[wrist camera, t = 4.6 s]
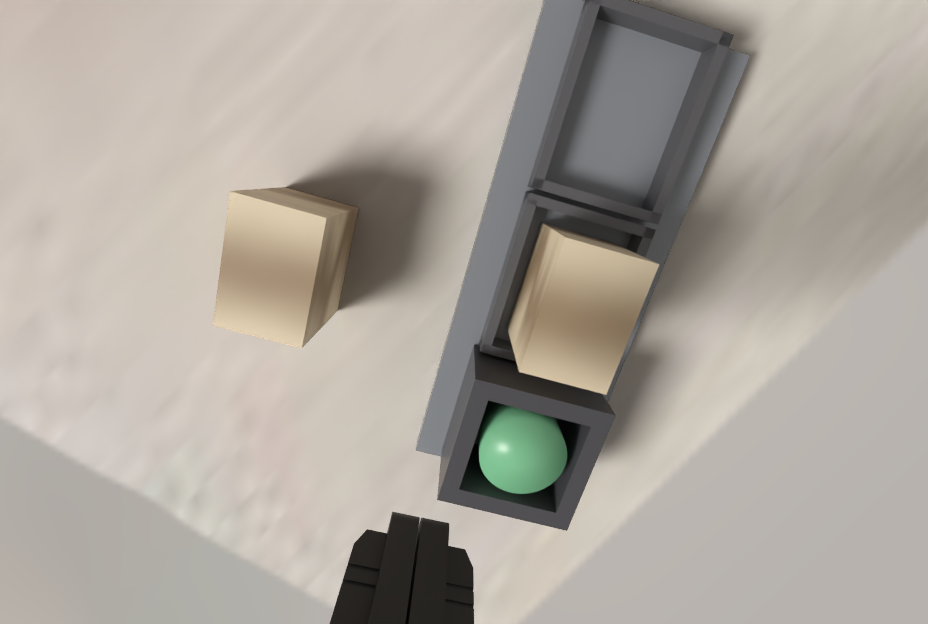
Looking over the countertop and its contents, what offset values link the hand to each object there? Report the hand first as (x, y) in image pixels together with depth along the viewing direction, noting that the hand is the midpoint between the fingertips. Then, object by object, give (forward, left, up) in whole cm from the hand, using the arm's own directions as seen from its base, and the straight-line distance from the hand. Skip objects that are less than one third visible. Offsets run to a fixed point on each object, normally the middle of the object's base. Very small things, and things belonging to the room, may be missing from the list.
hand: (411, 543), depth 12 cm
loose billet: (-3, -8, -16) cm, 18 cm away
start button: (+3, +5, -13) cm, 15 cm away
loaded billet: (-5, +5, -15) cm, 16 cm away
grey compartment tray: (-5, +5, -16) cm, 17 cm away
